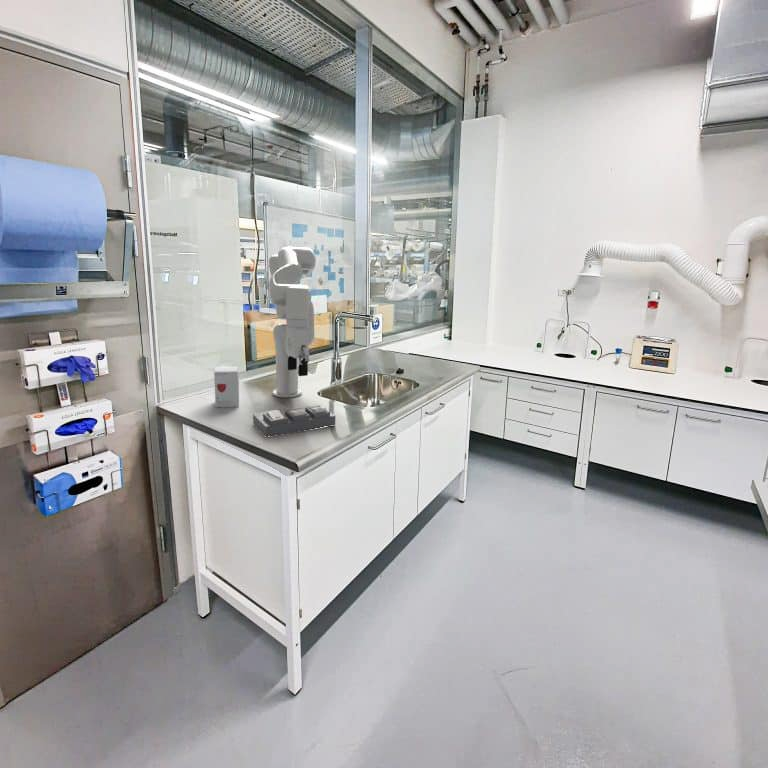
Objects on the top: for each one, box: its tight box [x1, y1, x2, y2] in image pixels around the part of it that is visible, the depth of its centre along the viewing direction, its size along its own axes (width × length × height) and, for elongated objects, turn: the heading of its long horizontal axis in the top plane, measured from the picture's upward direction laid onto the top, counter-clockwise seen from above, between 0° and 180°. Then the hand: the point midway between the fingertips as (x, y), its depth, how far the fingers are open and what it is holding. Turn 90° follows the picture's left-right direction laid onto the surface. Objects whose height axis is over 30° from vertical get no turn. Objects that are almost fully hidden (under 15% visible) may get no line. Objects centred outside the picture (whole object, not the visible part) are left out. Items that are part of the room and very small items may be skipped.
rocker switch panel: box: [252, 404, 336, 438], centre depth 163 cm, size 14×26×6 cm, turn 123°
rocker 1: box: [266, 409, 284, 420], centre depth 156 cm, size 6×4×1 cm, turn 33°
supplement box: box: [213, 366, 240, 409], centre depth 181 cm, size 9×9×15 cm
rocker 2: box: [309, 406, 327, 413], centre depth 165 cm, size 6×4×1 cm, turn 33°
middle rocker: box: [289, 410, 306, 416], centre depth 161 cm, size 6×4×1 cm, turn 33°
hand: (297, 372), depth 157 cm, fingers open, 9 cm apart
